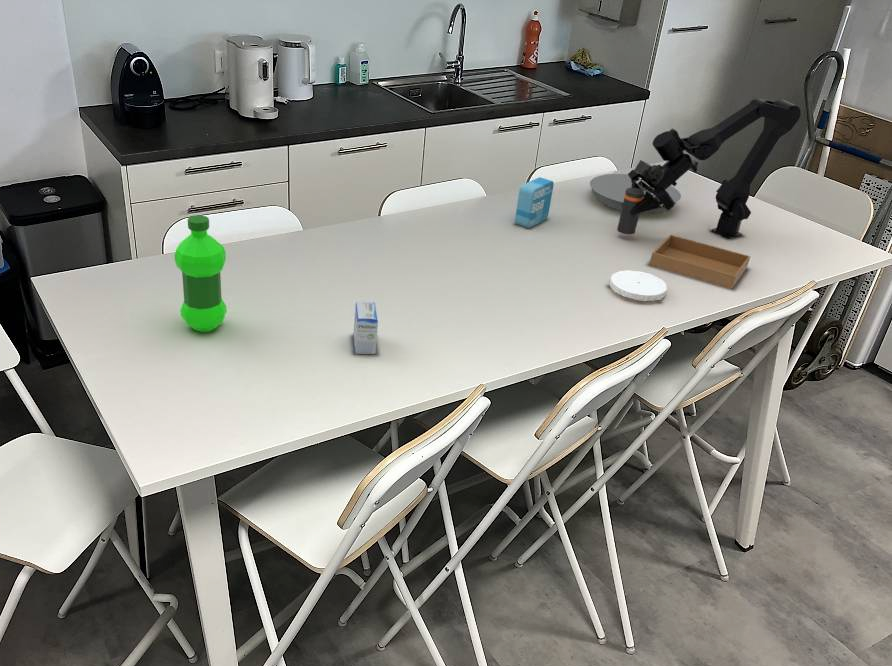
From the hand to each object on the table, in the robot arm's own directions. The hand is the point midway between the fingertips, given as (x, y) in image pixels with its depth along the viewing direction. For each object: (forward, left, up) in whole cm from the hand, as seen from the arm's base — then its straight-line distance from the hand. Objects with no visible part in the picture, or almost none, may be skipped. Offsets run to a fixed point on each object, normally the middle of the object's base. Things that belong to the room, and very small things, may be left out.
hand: (626, 210), depth 240 cm
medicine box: (+97, +22, -8) cm, 100 cm away
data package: (+17, -19, -8) cm, 27 cm away
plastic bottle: (+125, 0, -8) cm, 125 cm away
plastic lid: (+21, +28, -8) cm, 36 cm away
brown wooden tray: (-6, +24, -8) cm, 26 cm away
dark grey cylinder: (-1, 0, -6) cm, 6 cm away
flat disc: (-24, -19, -8) cm, 32 cm away
